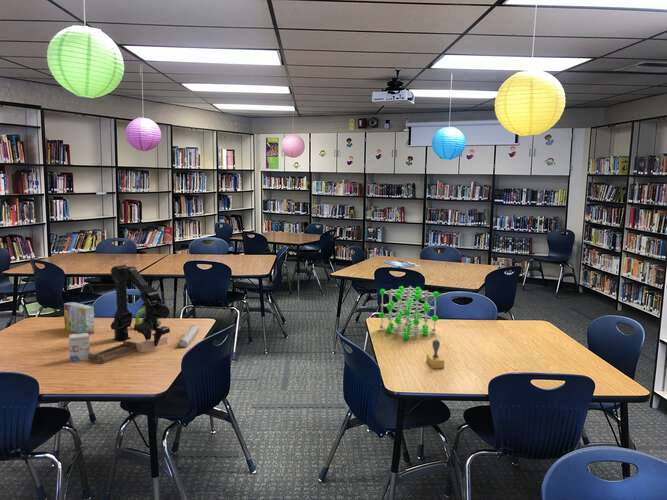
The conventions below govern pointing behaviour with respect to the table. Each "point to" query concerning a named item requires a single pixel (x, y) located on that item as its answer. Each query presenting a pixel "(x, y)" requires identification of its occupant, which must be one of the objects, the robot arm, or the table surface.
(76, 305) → the snack box
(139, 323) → the toy lion
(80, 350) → the ink box
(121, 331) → the robot arm
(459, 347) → the table surface
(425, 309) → the molecular structure model
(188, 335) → the tube
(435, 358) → the rubber stamp
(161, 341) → the beige long block
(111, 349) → the wooden tray
